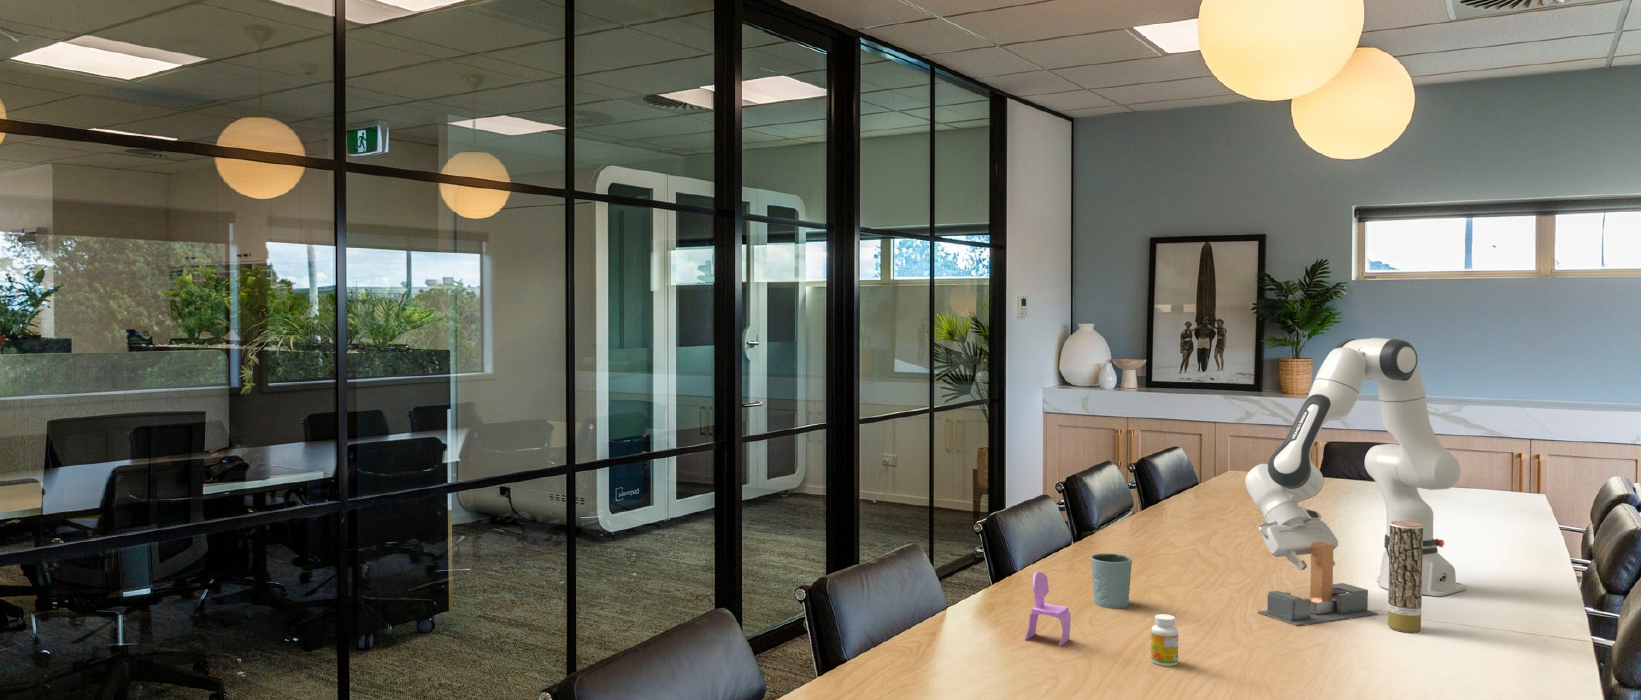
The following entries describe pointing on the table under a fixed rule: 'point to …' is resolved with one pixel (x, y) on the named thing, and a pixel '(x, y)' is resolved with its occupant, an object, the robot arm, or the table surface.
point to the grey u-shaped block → (1350, 598)
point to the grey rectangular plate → (1323, 617)
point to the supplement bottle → (1164, 641)
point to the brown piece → (1322, 579)
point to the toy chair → (1047, 609)
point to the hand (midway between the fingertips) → (1317, 567)
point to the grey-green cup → (1111, 579)
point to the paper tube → (1405, 576)
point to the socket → (1288, 606)
